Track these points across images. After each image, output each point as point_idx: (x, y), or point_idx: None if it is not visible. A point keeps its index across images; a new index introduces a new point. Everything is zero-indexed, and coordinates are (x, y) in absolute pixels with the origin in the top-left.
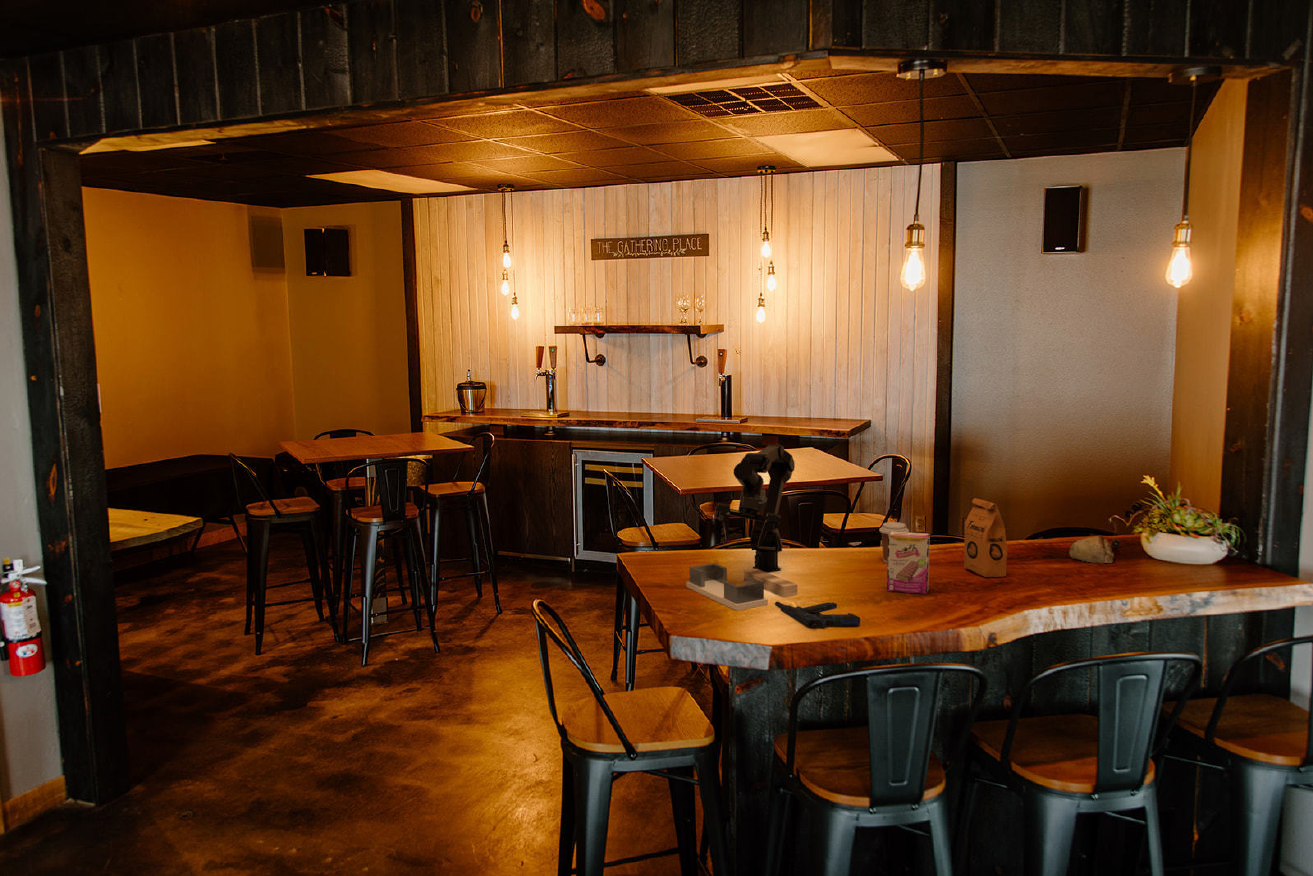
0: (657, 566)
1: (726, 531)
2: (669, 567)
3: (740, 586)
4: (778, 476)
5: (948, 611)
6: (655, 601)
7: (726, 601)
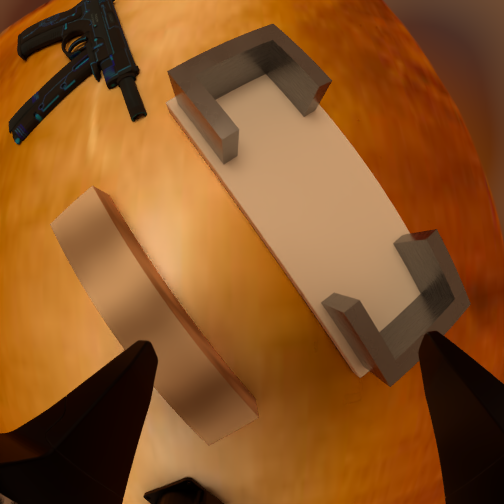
0: None
1: (479, 371)
2: None
3: (261, 31)
4: None
5: None
6: (470, 156)
7: None
